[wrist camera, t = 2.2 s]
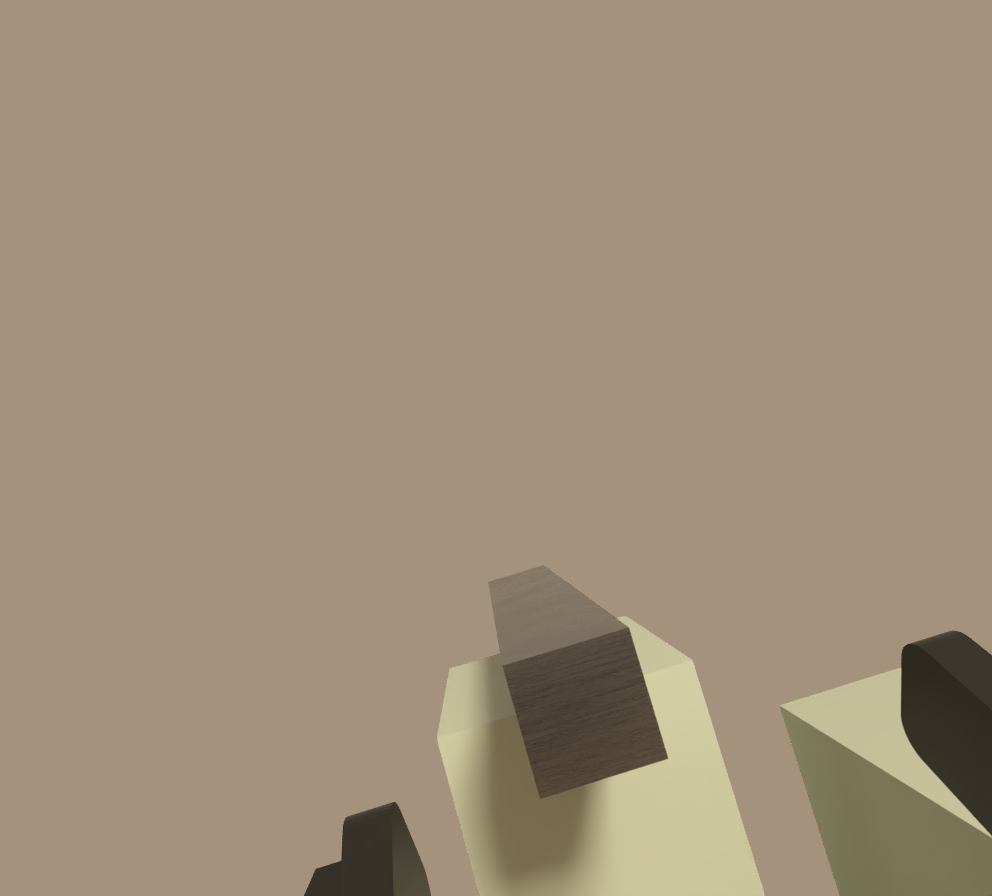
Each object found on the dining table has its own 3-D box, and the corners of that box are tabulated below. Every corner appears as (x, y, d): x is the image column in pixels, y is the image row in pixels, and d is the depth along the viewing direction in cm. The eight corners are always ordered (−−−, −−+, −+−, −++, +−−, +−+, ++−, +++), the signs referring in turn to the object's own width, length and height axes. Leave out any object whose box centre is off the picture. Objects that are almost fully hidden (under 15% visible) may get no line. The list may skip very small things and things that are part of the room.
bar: (540, 799, 18) (502, 665, 18) (504, 638, 42) (488, 581, 42) (668, 758, 18) (629, 627, 19) (560, 621, 42) (543, 565, 42)
